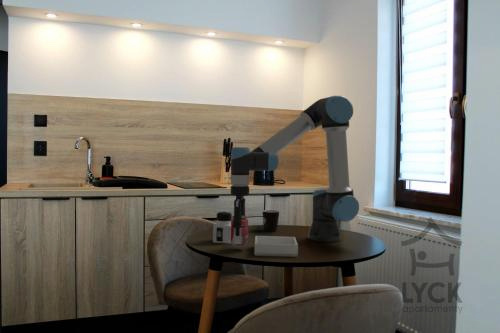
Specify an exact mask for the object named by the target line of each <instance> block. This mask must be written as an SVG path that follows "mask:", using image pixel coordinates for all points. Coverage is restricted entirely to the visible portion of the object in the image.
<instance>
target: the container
mask: <svg viewBox="0 0 500 333" xmlns="http://www.w3.org/2000/svg"><path fill="white" fill-rule="evenodd" d="M232 218H233V215H232V213H231V212H229V211H219V212H217V213H216V223H215V224H213V226H212V228H213V229H212V243H215V244H231V220H232Z"/></svg>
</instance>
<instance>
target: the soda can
mask: <svg viewBox="0 0 500 333" xmlns="http://www.w3.org/2000/svg"><path fill="white" fill-rule="evenodd" d="M247 217H248V216H247V215H245V216H244V215H242V217H241V244H234V228H233V227H232V226H233V225H234V215H232V220H231V243H230V244H231V246H233V247H235V248H243V247H246V246H247V245H248V244H249V243H248V242H249V219H248V218H247Z"/></svg>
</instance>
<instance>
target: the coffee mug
mask: <svg viewBox="0 0 500 333" xmlns="http://www.w3.org/2000/svg"><path fill="white" fill-rule="evenodd" d="M261 211H262V221H263V230H264V232H268V233H276V232H278V225H279V218H280V210H276V209H275V210H272V209H264V210H261Z"/></svg>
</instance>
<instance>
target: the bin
mask: <svg viewBox="0 0 500 333" xmlns="http://www.w3.org/2000/svg"><path fill="white" fill-rule="evenodd" d="M298 255H299V244H298V241H297V239H296V237H295V236H273V235H255V238H254V256H256V257H257V256H258V257H259V256H262V257H291V258H293V257H295V258H298V257H299V256H298Z"/></svg>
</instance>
